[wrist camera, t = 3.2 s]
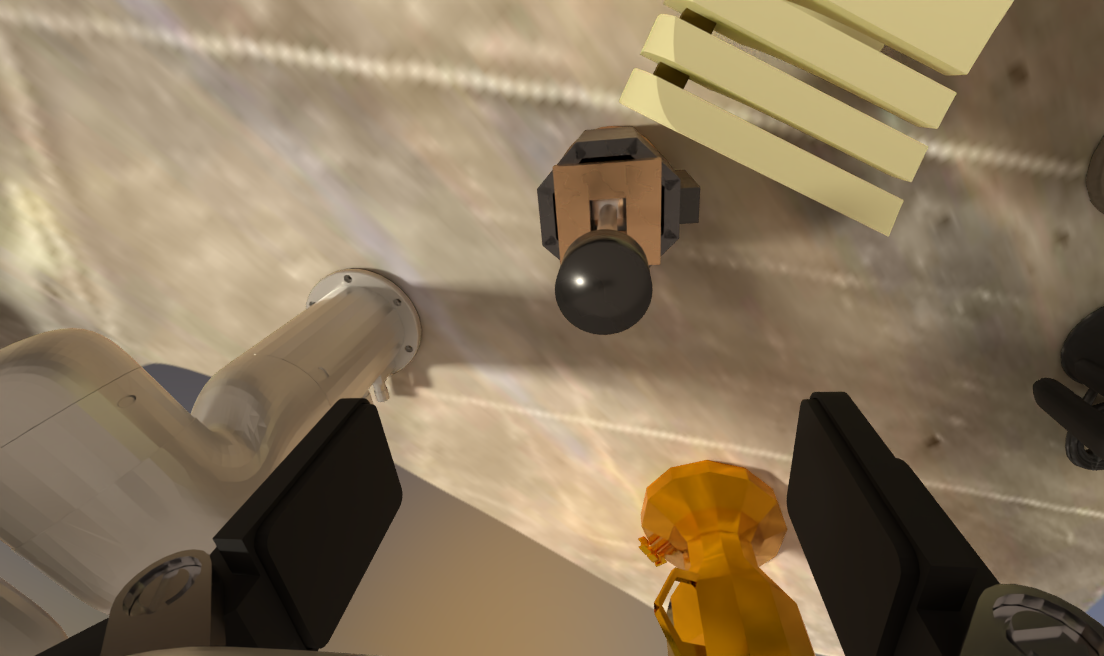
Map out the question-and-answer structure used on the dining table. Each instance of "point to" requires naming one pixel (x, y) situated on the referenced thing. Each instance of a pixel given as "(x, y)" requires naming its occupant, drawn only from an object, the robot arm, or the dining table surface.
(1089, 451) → the milk frother
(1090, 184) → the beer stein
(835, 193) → the slatted curved stool
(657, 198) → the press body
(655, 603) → the yellow tall piece
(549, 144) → the dining table surface
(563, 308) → the plunger
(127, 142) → the dining table surface
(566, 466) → the dining table surface
